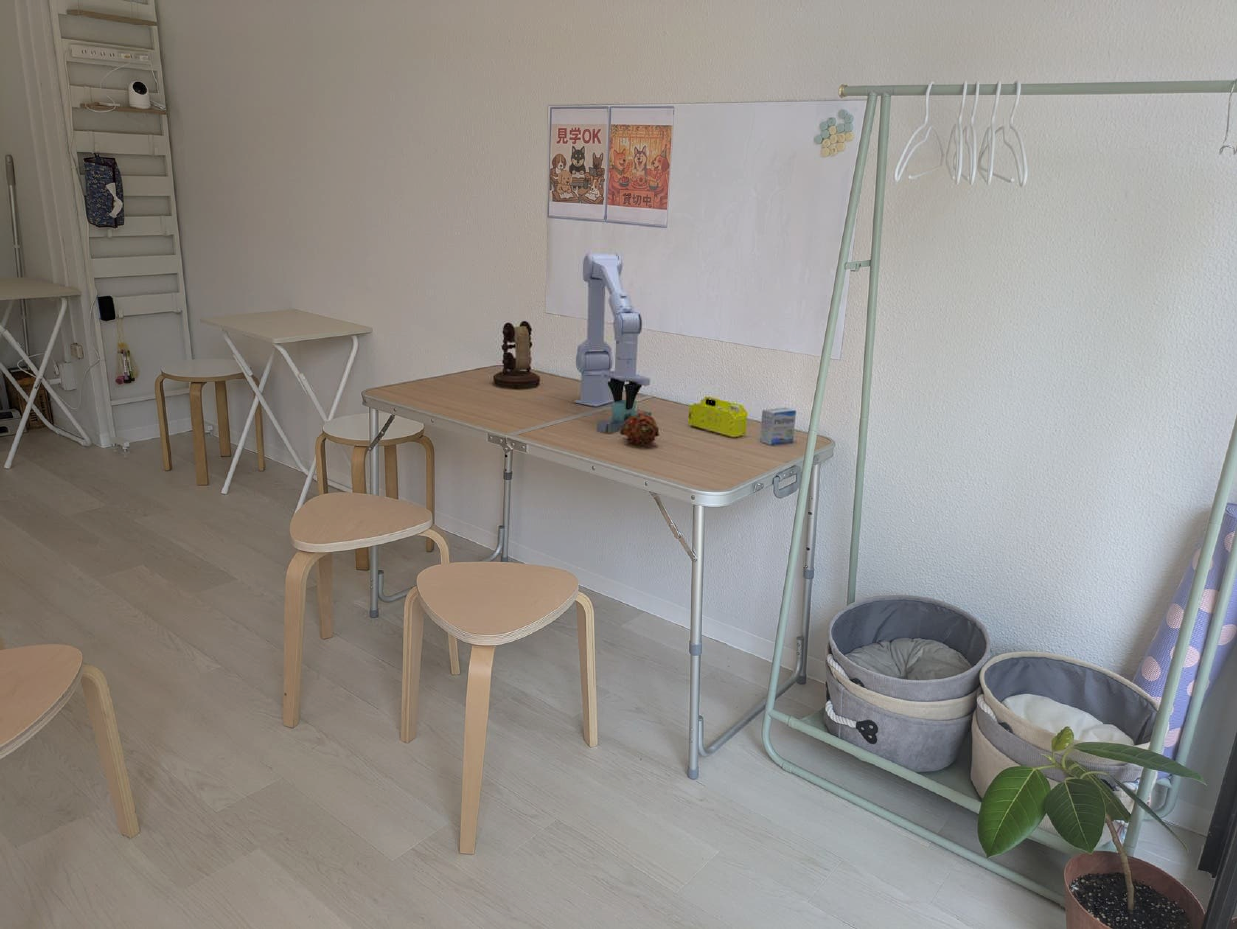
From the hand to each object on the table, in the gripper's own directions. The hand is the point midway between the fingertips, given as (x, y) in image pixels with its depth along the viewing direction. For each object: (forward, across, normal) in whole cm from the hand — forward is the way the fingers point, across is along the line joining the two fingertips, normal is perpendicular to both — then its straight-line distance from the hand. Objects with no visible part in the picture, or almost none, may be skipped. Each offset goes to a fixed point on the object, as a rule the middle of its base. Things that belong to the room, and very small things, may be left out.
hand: (623, 407), depth 248 cm
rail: (+5, 0, 0) cm, 5 cm away
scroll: (+5, -53, +18) cm, 56 cm away
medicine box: (+5, +39, +14) cm, 42 cm away
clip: (+4, 0, 0) cm, 4 cm away
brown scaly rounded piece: (+5, +13, -12) cm, 18 cm away
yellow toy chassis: (+5, +22, +12) cm, 26 cm away
